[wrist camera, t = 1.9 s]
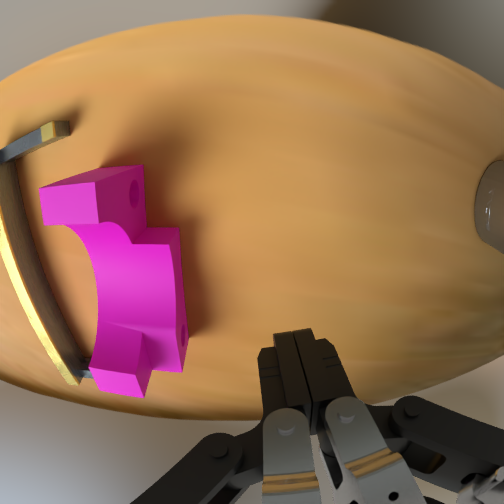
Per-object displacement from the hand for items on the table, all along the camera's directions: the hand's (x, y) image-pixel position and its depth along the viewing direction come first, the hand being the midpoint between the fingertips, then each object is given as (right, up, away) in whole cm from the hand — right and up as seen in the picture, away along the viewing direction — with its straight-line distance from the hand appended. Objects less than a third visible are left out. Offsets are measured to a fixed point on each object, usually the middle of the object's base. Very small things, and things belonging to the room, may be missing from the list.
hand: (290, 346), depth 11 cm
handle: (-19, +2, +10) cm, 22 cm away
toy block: (-10, +3, +10) cm, 15 cm away
